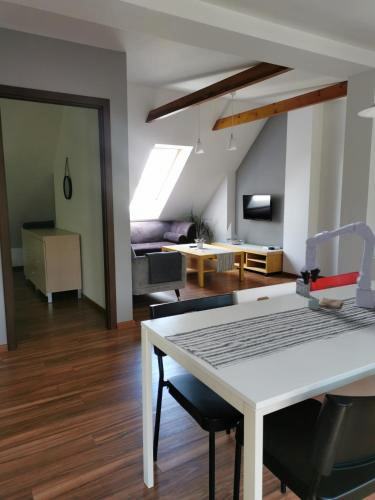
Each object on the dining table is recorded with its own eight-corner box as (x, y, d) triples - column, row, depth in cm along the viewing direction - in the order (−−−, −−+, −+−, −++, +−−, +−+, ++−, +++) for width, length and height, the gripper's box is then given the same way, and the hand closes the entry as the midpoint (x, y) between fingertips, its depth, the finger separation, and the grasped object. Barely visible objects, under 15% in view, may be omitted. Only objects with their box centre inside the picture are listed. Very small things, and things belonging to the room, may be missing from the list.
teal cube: (318, 307, 196) (319, 299, 195) (317, 309, 192) (317, 301, 192) (310, 306, 198) (310, 298, 198) (308, 308, 194) (308, 300, 194)
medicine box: (295, 292, 226) (296, 278, 225) (302, 292, 227) (302, 278, 226) (303, 296, 219) (303, 281, 217) (309, 295, 220) (310, 281, 219)
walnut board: (342, 302, 205) (342, 300, 205) (339, 308, 193) (339, 306, 193) (323, 300, 210) (323, 298, 210) (319, 306, 198) (319, 304, 198)
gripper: (311, 256, 212) (310, 280, 214) (296, 259, 203) (296, 284, 205) (323, 257, 207) (322, 282, 209) (308, 260, 198) (307, 286, 199)
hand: (310, 283), depth 206 cm, fingers open, 7 cm apart
